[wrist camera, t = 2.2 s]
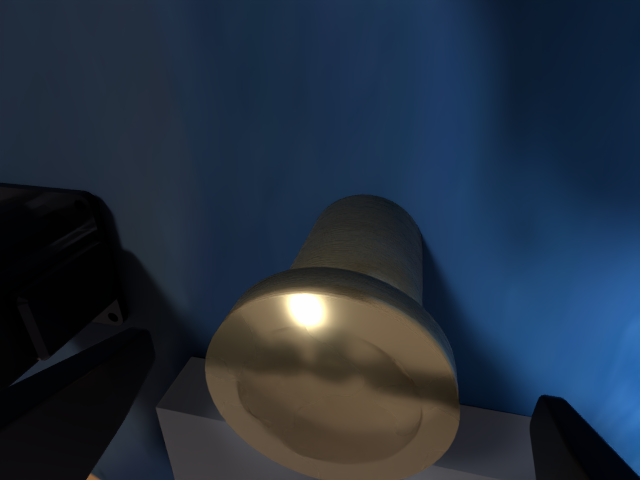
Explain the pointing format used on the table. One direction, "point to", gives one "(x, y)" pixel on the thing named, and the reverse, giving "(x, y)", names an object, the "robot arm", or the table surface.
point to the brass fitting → (341, 354)
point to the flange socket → (269, 476)
